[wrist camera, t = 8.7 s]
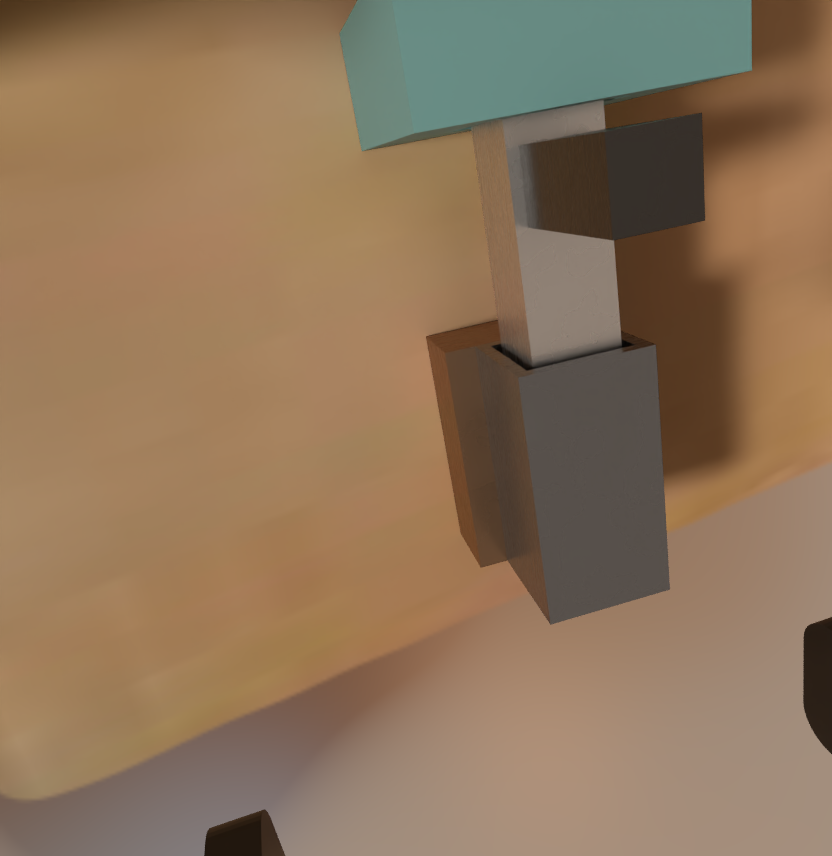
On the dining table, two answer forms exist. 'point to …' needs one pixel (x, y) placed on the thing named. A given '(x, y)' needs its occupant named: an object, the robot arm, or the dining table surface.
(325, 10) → the dining table surface
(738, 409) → the dining table surface
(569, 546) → the sleeve
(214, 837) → the robot arm
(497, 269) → the grey angled block
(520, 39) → the teal flat panel
